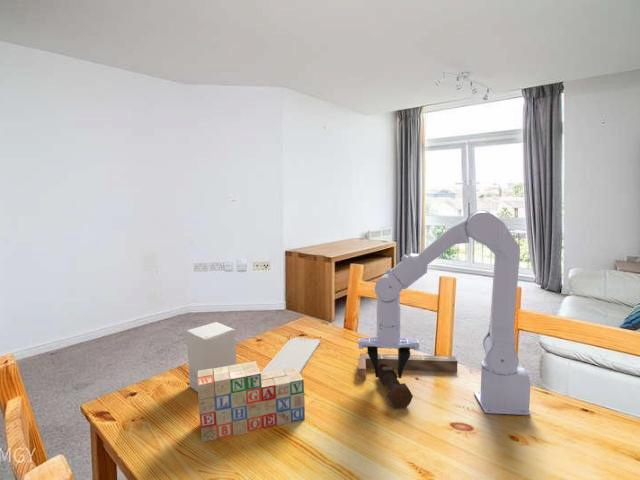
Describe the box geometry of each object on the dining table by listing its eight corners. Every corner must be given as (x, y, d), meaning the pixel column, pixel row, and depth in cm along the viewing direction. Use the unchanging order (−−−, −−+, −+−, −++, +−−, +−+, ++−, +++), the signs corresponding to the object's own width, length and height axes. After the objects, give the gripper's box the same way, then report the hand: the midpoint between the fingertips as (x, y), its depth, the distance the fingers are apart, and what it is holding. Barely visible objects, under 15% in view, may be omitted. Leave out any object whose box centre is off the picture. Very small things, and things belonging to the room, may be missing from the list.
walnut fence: (454, 366, 101) (454, 355, 101) (463, 383, 92) (463, 371, 92) (358, 363, 104) (358, 353, 104) (358, 379, 95) (357, 368, 95)
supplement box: (239, 385, 93) (236, 328, 91) (207, 400, 87) (203, 339, 85) (220, 373, 99) (217, 320, 98) (188, 386, 93) (185, 330, 91)
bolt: (385, 382, 97) (404, 413, 82) (369, 374, 96) (385, 404, 81) (396, 362, 97) (416, 391, 82) (379, 354, 96) (397, 381, 81)
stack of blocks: (297, 405, 84) (296, 354, 83) (305, 420, 78) (304, 366, 77) (200, 424, 78) (197, 369, 76) (200, 443, 72) (197, 384, 70)
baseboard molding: (244, 388, 93) (288, 394, 90) (243, 377, 92) (288, 383, 89) (286, 340, 122) (321, 344, 119) (286, 332, 122) (320, 335, 119)
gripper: (416, 318, 92) (415, 369, 94) (358, 317, 94) (358, 367, 96) (420, 328, 86) (419, 383, 87) (358, 327, 87) (358, 380, 89)
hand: (388, 375), depth 91 cm, fingers open, 5 cm apart
